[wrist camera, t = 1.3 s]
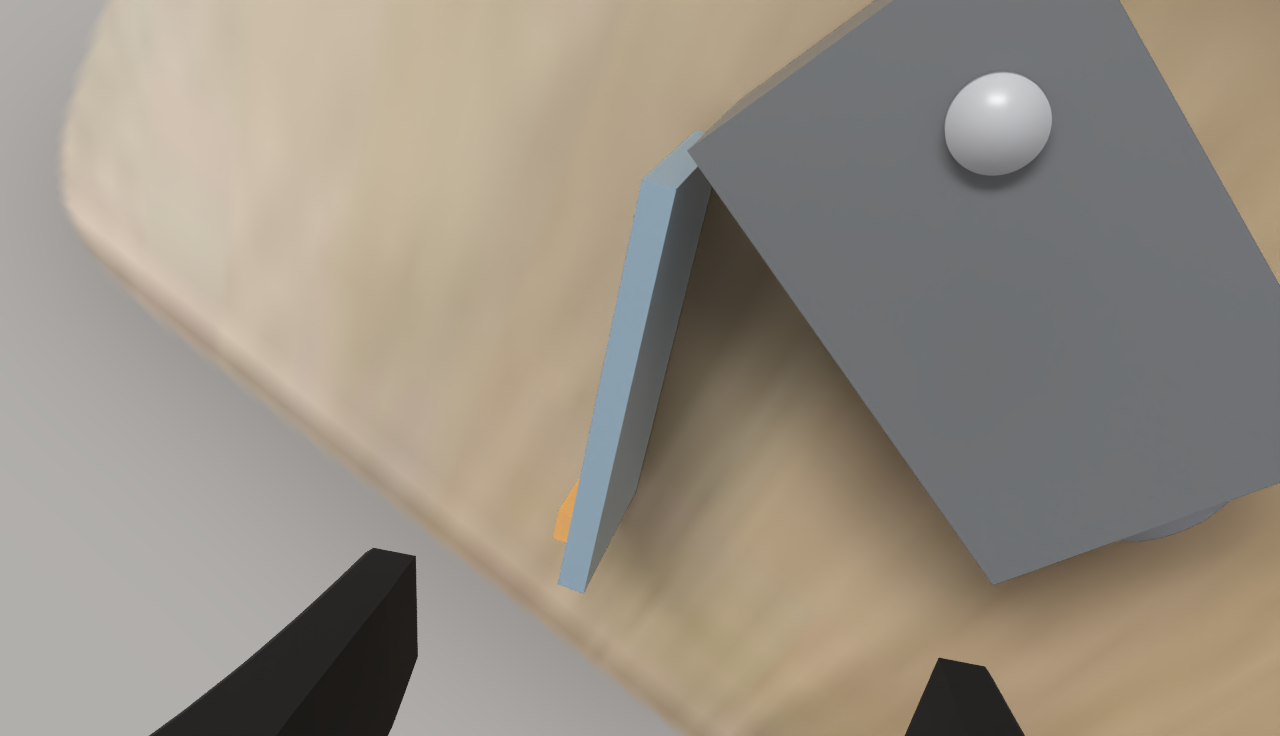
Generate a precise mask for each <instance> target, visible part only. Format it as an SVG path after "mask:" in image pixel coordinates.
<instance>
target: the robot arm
mask: <svg viewBox="0 0 1280 736" xmlns="http://www.w3.org/2000/svg"><path fill="white" fill-rule="evenodd" d="M417 647H418V646H417V598H416V556H412V555H408V554H402V553H397V552H392V551H387V550H382V549H377V548H372V549H371V550H369V551H367V552H366V553H365V554H364V555H363V556H362V557H361V558H360V559H359V560H357V561H356V562H355V563H354V564H353V565H352V566H351V567H350V568H349V569H348V570H347V571H346V572H345V573H344V574H343V575H342V576H341V577H340V578H339V579H338V580H337V581H335V582H334V583H333V584H332V585H331V586H330V587H329V588H328V589H327V590H326V591H325V592H324V593H323V594H322V595H321V596H319V597H318V598H317V599H316V600H315V601H314V602H313V603H312V604H311V605H310V606H309V607H307V608H306V609H305V610H304V611H303V612H302V613H301V614H300V615H299V616H298V617H296V618H295V619H294V620H293V621H292V622H291V623H290V624H288V625H287V626H286V627H285V628H284V629H283V630H282V631H280V632H279V633H278V634H277V635H276V636H275V637H273V638H272V639H271V640H270V641H269V642H268V643H267V644H265V645H264V646H263V647H262V648H261V649H260V650H258V651H257V652H256V653H255V654H254V655H253V656H251V657H250V658H249V659H248V660H247V661H245V662H244V663H243V664H242V665H241V666H239V667H238V668H237V669H236V670H234V671H233V672H232V673H231V674H229V675H228V676H227V677H226V678H225V679H223V680H222V681H220V682H219V683H218V684H217V685H216V686H214V687H213V688H212V689H210V690H209V691H208V692H207V693H205V694H204V695H203V696H201V697H200V698H199V699H198V700H196V701H195V702H194V703H193V704H191V705H190V706H189V707H188V708H186V709H185V710H184V711H182V712H181V713H180V714H178V715H177V716H176V717H174V718H173V719H171V720H170V721H169V722H167V723H166V724H165V725H163V726H162V727H161V728H159V729H158V730H156V731H155V732H154V733H152V734H151V735H150V736H388V734H389V732H390V730H391V728H392V725H393V723H394V720H395V717H396V715H397V712H398V709H399V707H400V704H401V702H402V699H403V696H404V694H405V690H406V688H407V685H408V682H409V679H410V677H411V674H412V671H413V668H414V665H415V663H416V660H417V657H418V648H417ZM905 736H1025V735H1024V733H1023V732H1022V730H1021V728H1020V726H1019V725H1018V723H1017V721H1016V719H1015V718H1014V716H1013V714H1012V712H1011V710H1010V709H1009V707H1008V705H1007V703H1006V702H1005V700H1004V698H1003V696H1002V694H1001V693H1000V691H999V689H998V687H997V685H996V684H995V682H994V680H993V678H992V677H991V675H990V673H989V672H988V670H987V669H986V667H984V666H979V665H974V664H969V663H964V662H958V661H953V660H948V659H943V658H938V661H937V663H936V665H935V667H934V670H933V672H932V674H931V677H930V679H929V681H928V683H927V686H926V688H925V690H924V693H923V695H922V697H921V700H920V702H919V704H918V706H917V709H916V711H915V713H914V716H913V718H912V720H911V722H910V725H909V727H908V729H907V732H906V734H905Z"/></svg>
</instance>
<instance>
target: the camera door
mask: <svg viewBox="0 0 1280 736" xmlns="http://www.w3.org/2000/svg"><path fill="white" fill-rule="evenodd" d="M704 134H705V132H702V131H698V130H696V131H695V132H693V133H692V134H691V135H690V136H689V137H688V138H687V139H686V140H685V141H684V142H682V143H681V144H680V145H679V146H678V147H677V148H676V149H675V150H674V151H673V152H671V153H670V154H669V155H668V156H667V157H666V158H665V159H664V160H663V161H662V162H660V163H659V164H658V165H657V166H656V167H655V168H654V169H653V170H652V171H650V172H649V173H648V174H647V175H646V176H645V177H644V178H643V179H642V182H641V186H640V191H639V196H638V201H637V206H636V210H635V215H634V220H633V225H632V230H631V234H630V239H629V244H628V249H627V254H626V258H625V263H624V268H623V273H622V278H621V283H620V287H619V292H618V297H617V302H616V307H615V311H614V316H613V321H612V326H611V331H610V335H609V340H608V345H607V350H606V355H605V359H604V364H603V369H602V374H601V379H600V383H599V388H598V393H597V398H596V403H595V408H594V412H593V417H592V422H591V427H590V432H589V436H588V441H587V446H586V451H585V456H584V460H583V465H582V470H581V475H580V477H579V479H578V480H577V482H576V484H575V485H574V487H573V488H572V490H571V492H570V493H569V495H568V496H567V498H566V500H565V501H564V503H563V504H562V506H561V508H560V509H559V511H558V515H557V520H556V525H555V530H554V535H553V538H554V539H556V540H559V541H562V542H565V543H566V547H565V552H564V557H563V561H562V566H561V571H560V576H559V581H558V584H559V585H562V586H564V587H567V588H570V589H572V590H575V591H578V592H580V593H583V594H584V592H585V590H586V588H587V586H588V584H589V582H590V580H591V578H592V576H593V574H594V572H595V570H596V568H597V566H598V564H599V563H600V561H601V559H602V557H603V555H604V553H605V551H606V549H607V547H608V545H609V543H610V541H611V539H612V537H613V535H614V533H615V531H616V529H617V527H618V525H619V523H620V522H621V520H622V518H623V516H624V514H625V512H626V510H627V508H628V506H629V504H630V502H631V500H632V498H633V496H634V494H635V492H636V489H637V485H638V481H639V477H640V473H641V469H642V465H643V461H644V457H645V453H646V449H647V445H648V441H649V437H650V433H651V429H652V425H653V421H654V417H655V413H656V409H657V405H658V401H659V397H660V393H661V389H662V385H663V381H664V377H665V373H666V369H667V365H668V361H669V357H670V353H671V349H672V345H673V341H674V337H675V333H676V329H677V325H678V321H679V317H680V313H681V309H682V305H683V301H684V297H685V293H686V289H687V285H688V281H689V277H690V273H691V269H692V265H693V261H694V257H695V253H696V249H697V245H698V241H699V237H700V233H701V229H702V225H703V221H704V217H705V213H706V209H707V205H708V201H709V197H710V193H711V189H712V186H711V184H710V183H709V181H708V180H707V178H706V177H705V176H704V174H703V173H702V171H701V170H700V168H699V167H698V166H697V164H696V163H695V161H694V160H693V159H692V157H691V156H690V154H689V153H688V151H687V150H688V149H689V148H690V147H691V146H692V145H693V144H694V143H695V142H697V141H698V140H699V139H700V138H701V137H702V136H703V135H704Z"/></svg>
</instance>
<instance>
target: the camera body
mask: <svg viewBox="0 0 1280 736" xmlns="http://www.w3.org/2000/svg"><path fill="white" fill-rule="evenodd" d="M687 151H688V153H689V154H690V156H691V157H692V159H693V160H694V161H695V163H696V164H697V166H698V167H699V168H700V170H701V171H702V173H703V174H704V176H705V177H706V178H707V180H708V181H709V183H710V184H711V186H712V187H713V188H714V190H715V191H716V193H717V194H718V195H719V197H720V198H721V200H722V201H723V203H724V204H725V205H726V207H727V208H728V210H729V211H730V213H731V214H732V215H733V217H734V218H735V220H736V221H737V222H738V224H739V225H740V227H741V228H742V230H743V231H744V232H745V234H746V235H747V237H748V238H749V240H750V241H751V242H752V244H753V245H754V247H755V248H756V249H757V251H758V252H759V254H760V255H761V257H762V258H763V259H764V261H765V262H766V264H767V265H768V267H769V268H770V269H771V271H772V272H773V274H774V275H775V276H776V278H777V279H778V281H779V282H780V284H781V285H782V286H783V288H784V289H785V291H786V292H787V294H788V295H789V296H790V298H791V299H792V301H793V302H794V303H795V305H796V306H797V308H798V309H799V311H800V312H801V313H802V315H803V316H804V318H805V319H806V321H807V322H808V323H809V325H810V326H811V328H812V329H813V330H814V332H815V333H816V335H817V336H818V338H819V339H820V340H821V342H822V343H823V345H824V346H825V348H826V349H827V350H828V352H829V353H830V355H831V356H832V357H833V359H834V360H835V362H836V363H837V365H838V366H839V367H840V369H841V370H842V372H843V373H844V375H845V376H846V377H847V379H848V380H849V382H850V383H851V384H852V386H853V387H854V389H855V390H856V392H857V393H858V394H859V396H860V397H861V399H862V400H863V402H864V403H865V404H866V406H867V407H868V409H869V410H870V411H871V413H872V414H873V416H874V417H875V419H876V420H877V421H878V423H879V424H880V426H881V427H882V429H883V430H884V431H885V433H886V434H887V436H888V437H889V438H890V440H891V441H892V443H893V444H894V446H895V447H896V448H897V450H898V451H899V453H900V454H901V456H902V457H903V458H904V460H905V461H906V463H907V464H908V465H909V467H910V468H911V470H912V471H913V473H914V474H915V475H916V477H917V478H918V480H919V481H920V483H921V484H922V485H923V487H924V488H925V490H926V491H927V492H928V494H929V495H930V497H931V498H932V500H933V501H934V502H935V504H936V505H937V507H938V508H939V510H940V511H941V512H942V514H943V515H944V517H945V518H946V519H947V521H948V522H949V524H950V525H951V527H952V528H953V529H954V531H955V532H956V534H957V535H958V537H959V538H960V539H961V541H962V542H963V544H964V545H965V546H966V548H967V549H968V551H969V552H970V554H971V555H972V556H973V558H974V559H975V561H976V562H977V564H978V565H979V566H980V568H981V569H982V571H983V572H984V573H985V575H986V576H987V578H988V579H989V581H990V582H991V583H992V585H995V584H998V583H1001V582H1003V581H1006V580H1009V579H1012V578H1015V577H1017V576H1020V575H1023V574H1026V573H1029V572H1031V571H1034V570H1037V569H1040V568H1043V567H1045V566H1048V565H1051V564H1054V563H1057V562H1059V561H1062V560H1065V559H1068V558H1071V557H1073V556H1076V555H1079V554H1082V553H1085V552H1087V551H1090V550H1093V549H1096V548H1099V547H1101V546H1104V545H1107V544H1110V543H1113V542H1115V541H1124V542H1134V541H1145V540H1152V539H1157V538H1161V537H1165V536H1169V535H1172V534H1175V533H1178V532H1180V531H1183V530H1185V529H1188V528H1190V527H1192V526H1194V525H1196V524H1198V523H1200V522H1202V521H1204V520H1205V519H1207V518H1209V517H1210V516H1212V515H1213V514H1214V513H1216V512H1217V511H1219V510H1220V509H1221V508H1222V507H1223V506H1224V505H1226V504H1227V503H1228V502H1229V501H1230V500H1233V499H1236V498H1238V497H1241V496H1244V495H1247V494H1250V493H1252V492H1255V491H1258V490H1261V489H1264V488H1266V487H1269V486H1272V485H1275V484H1278V483H1280V285H1279V283H1278V281H1277V280H1276V278H1275V276H1274V274H1273V272H1272V271H1271V269H1270V267H1269V265H1268V264H1267V262H1266V260H1265V258H1264V256H1263V255H1262V253H1261V251H1260V249H1259V248H1258V246H1257V244H1256V242H1255V240H1254V239H1253V237H1252V235H1251V233H1250V232H1249V230H1248V228H1247V226H1246V224H1245V223H1244V221H1243V219H1242V217H1241V216H1240V214H1239V212H1238V210H1237V208H1236V207H1235V205H1234V203H1233V201H1232V200H1231V198H1230V196H1229V194H1228V192H1227V191H1226V189H1225V187H1224V185H1223V184H1222V182H1221V180H1220V178H1219V176H1218V175H1217V173H1216V171H1215V169H1214V168H1213V166H1212V164H1211V162H1210V160H1209V159H1208V157H1207V155H1206V153H1205V152H1204V150H1203V148H1202V146H1201V144H1200V143H1199V141H1198V139H1197V137H1196V136H1195V134H1194V132H1193V130H1192V128H1191V127H1190V125H1189V123H1188V121H1187V120H1186V118H1185V116H1184V114H1183V112H1182V111H1181V109H1180V107H1179V105H1178V104H1177V102H1176V100H1175V98H1174V96H1173V95H1172V93H1171V91H1170V89H1169V88H1168V86H1167V84H1166V82H1165V81H1164V79H1163V77H1162V75H1161V73H1160V72H1159V70H1158V68H1157V66H1156V65H1155V63H1154V61H1153V59H1152V57H1151V56H1150V54H1149V52H1148V50H1147V49H1146V47H1145V45H1144V43H1143V41H1142V40H1141V38H1140V36H1139V34H1138V33H1137V31H1136V29H1135V27H1134V25H1133V24H1132V22H1131V20H1130V18H1129V17H1128V15H1127V13H1126V11H1125V9H1124V8H1123V6H1122V4H1121V2H1120V1H1119V0H875V1H874V2H872V3H871V4H870V5H868V6H867V7H866V8H864V9H863V10H862V11H860V12H859V13H858V14H856V15H855V16H853V17H852V18H851V19H849V20H848V21H847V22H845V23H844V24H843V25H841V26H840V27H839V28H837V29H836V30H834V31H833V32H832V33H830V34H829V35H828V36H826V37H825V38H824V39H822V40H821V41H820V42H818V43H817V44H815V45H814V46H813V47H811V48H810V49H809V50H807V51H806V52H805V53H803V54H802V55H801V56H799V57H798V58H796V59H795V60H794V61H792V62H791V63H790V64H788V65H787V66H786V67H784V68H783V69H782V70H780V71H779V72H777V73H776V74H775V75H773V76H772V77H771V78H769V79H768V80H767V81H765V82H764V83H762V84H761V85H760V86H758V87H757V88H756V89H754V90H753V91H752V92H750V93H749V94H748V95H746V96H745V97H743V98H742V99H741V100H739V101H738V102H737V103H736V104H735V105H734V106H733V107H732V108H731V109H730V110H729V111H728V112H727V113H726V114H725V115H724V116H723V117H722V118H720V119H719V120H718V121H717V122H716V123H715V124H714V125H713V126H712V127H711V128H710V129H709V130H708V131H707V132H706V133H705V134H704V135H703V136H702V137H701V138H700V139H699V140H698V141H697V142H695V143H694V144H693V145H692V146H691V147H690V148H689V149H688V150H687Z"/></svg>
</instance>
